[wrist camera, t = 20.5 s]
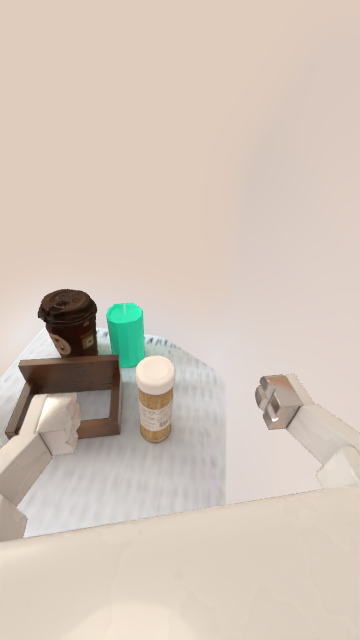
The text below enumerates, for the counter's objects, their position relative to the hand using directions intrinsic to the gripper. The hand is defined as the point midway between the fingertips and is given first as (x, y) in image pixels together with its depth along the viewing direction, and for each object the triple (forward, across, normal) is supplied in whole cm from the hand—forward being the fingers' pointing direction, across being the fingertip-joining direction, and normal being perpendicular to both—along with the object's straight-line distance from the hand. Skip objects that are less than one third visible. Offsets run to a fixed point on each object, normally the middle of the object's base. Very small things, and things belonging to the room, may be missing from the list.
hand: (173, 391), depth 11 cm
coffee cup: (+28, +13, +26) cm, 40 cm away
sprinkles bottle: (+12, 0, +26) cm, 29 cm away
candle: (+27, +4, +26) cm, 38 cm away
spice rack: (+16, +12, +26) cm, 33 cm away
